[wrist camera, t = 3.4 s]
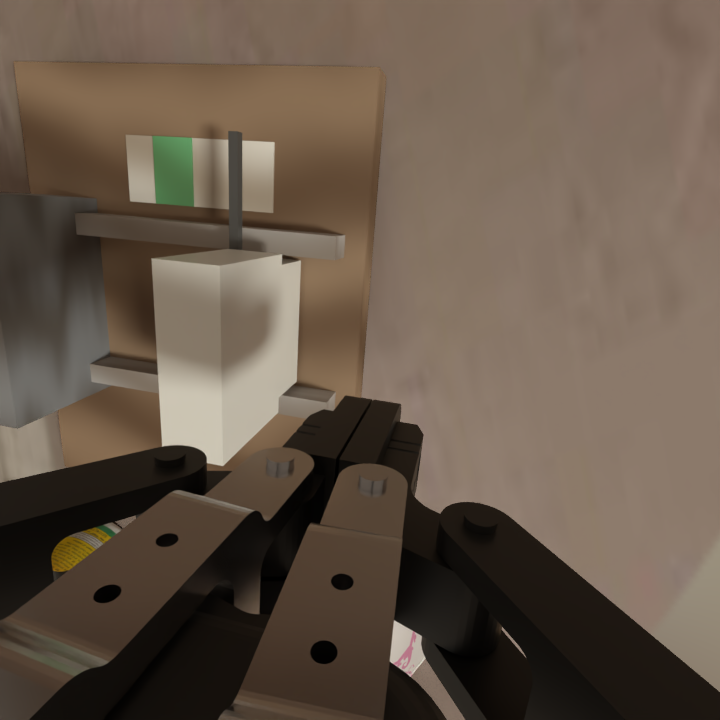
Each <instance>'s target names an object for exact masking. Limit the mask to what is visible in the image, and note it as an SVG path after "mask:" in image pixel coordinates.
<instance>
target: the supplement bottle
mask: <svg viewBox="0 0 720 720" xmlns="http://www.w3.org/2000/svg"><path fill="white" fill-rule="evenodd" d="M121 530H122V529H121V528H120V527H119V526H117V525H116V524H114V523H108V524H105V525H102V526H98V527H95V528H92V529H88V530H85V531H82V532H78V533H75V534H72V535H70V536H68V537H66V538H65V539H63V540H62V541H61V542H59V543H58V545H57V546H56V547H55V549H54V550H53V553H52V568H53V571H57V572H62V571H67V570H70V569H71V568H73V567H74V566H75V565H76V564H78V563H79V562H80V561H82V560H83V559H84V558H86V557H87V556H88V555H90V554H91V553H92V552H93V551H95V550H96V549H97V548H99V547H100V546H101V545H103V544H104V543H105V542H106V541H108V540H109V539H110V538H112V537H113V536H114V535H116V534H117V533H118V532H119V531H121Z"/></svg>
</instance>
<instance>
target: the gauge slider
mask: <svg viewBox="0 0 720 720" xmlns="http://www.w3.org/2000/svg"><path fill="white" fill-rule="evenodd" d="M228 169H229V249H222V250H214V251H207V252H199V253H191V254H183V255H175V256H167V257H159V258H151V259H152V277H153V294H154V312H155V330H156V347H157V365H158V382H159V400H160V417H161V435H162V447H163V446H170V445H184V446H191V447H195V448H197V449H199V450H201V451H203V452H204V453H205V455H206V457H207V463H210V464H215V465H220V466H224V465H225V464H226V463H227V462H228V461H229V460H230V459H231V458H232V457H233V456H234V455H235V454H236V453H237V452H238V451H239V450H240V449H241V448H242V447H243V446H244V445H245V444H246V443H247V442H248V441H249V440H250V439H251V438H253V437H254V436H255V435H256V434H257V433H258V432H259V431H260V430H261V429H262V428H263V427H264V426H265V425H266V424H267V423H268V422H269V421H270V420H271V419H272V418H273V417H274V416H275V415H276V414H277V413H278V406H279V397H280V396H281V395H282V394H283V393H284V392H286V391H287V390H288V389H289V388H290V387H291V386H292V385H293V384H295V383H296V382H297V358H298V330H299V302H300V274H301V260H292V259H282V254H275V253H265V252H255V251H245V250H242V133H241V132H238V131H228Z"/></svg>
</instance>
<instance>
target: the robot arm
mask: <svg viewBox="0 0 720 720" xmlns="http://www.w3.org/2000/svg"><path fill="white" fill-rule="evenodd" d="M400 416H401V404H398V403H391V402H385V401H379V400H372V399H366V398H360V397H354V396H347V395H345V396H344V398H343V399H342V400H341V401H340V403H339V404H338V405H337V407H336V408H335V409H334V411H331V410H325V409H323V410H320V411H318V412H316V413H314V414H311V415H309V417H308V418H307V419H306V420H305V421H304V422H303V423H302V425H301V426H300V427H299V428H298V429H297V430H296V432H295V433H294V434H293V435H292V436H291V437H290V438H289V440H288V441H287V442H286V443H285V444H284V445H283V447H276V448H268V449H263V450H260V451H258V452H256V453H254V454H252V455H251V456H250V457H248V458H247V459H246V460H245V461H244V462H243V463H241V464H240V465H239V466H238V467H237V468H236V469H234V470H233V471H207V457H206V455H205V453H204V452H203V451H201V450H199V449H197V448H195V447H191V446H184V445H170V446H163V447H158V448H153V449H149V450H144V451H140V452H135V453H131V454H127V455H122V456H118V457H113V458H109V459H104V460H100V461H95V462H91V463H87V464H82V465H78V466H73V467H69V468H64V469H60V470H56V471H51V472H47V473H42V474H38V475H33V476H29V477H25V478H20V479H16V480H11V481H7V482H2V483H0V720H447V719H446V718H445V716H444V715H443V713H442V712H441V710H440V709H439V708H438V706H437V705H436V704H435V702H434V701H433V700H432V698H431V697H430V696H429V695H428V694H427V693H426V691H425V690H424V689H423V688H422V687H421V686H420V685H419V684H418V683H417V682H416V681H415V680H414V679H412V678H411V677H410V676H409V675H408V674H407V673H405V672H404V671H403V670H401V669H400V668H398V667H397V666H395V665H394V664H393V663H391V662H390V654H391V644H392V635H393V625H394V621H396V622H398V623H400V624H401V625H403V626H405V627H407V628H409V629H410V630H412V631H414V632H416V633H417V634H419V635H421V636H422V639H421V646H422V651H423V654H424V656H425V658H426V660H427V661H428V663H429V664H430V666H431V667H432V669H433V671H434V672H435V674H436V675H437V677H438V678H439V680H440V681H441V683H442V684H443V686H444V687H445V689H446V690H447V692H448V694H449V695H450V697H451V698H452V700H453V701H454V703H455V704H456V706H457V707H458V709H459V710H460V712H461V713H462V715H463V717H464V718H465V720H720V692H719V691H718V690H717V689H715V688H714V687H713V686H712V685H710V684H709V683H708V682H707V681H706V680H705V679H703V678H702V677H701V676H700V675H698V674H697V673H696V672H695V671H694V670H693V669H691V668H690V667H689V666H688V665H687V664H685V663H684V662H683V661H682V660H681V659H679V658H678V657H677V656H676V655H674V654H673V653H672V652H671V651H670V650H669V649H667V648H666V647H665V646H664V645H663V644H661V643H660V642H659V641H658V640H656V639H655V638H654V637H653V636H652V635H651V634H649V633H648V632H647V631H646V630H645V629H643V628H642V627H641V626H640V625H639V624H637V623H636V622H635V621H634V620H633V619H631V618H630V617H629V616H628V615H627V614H625V613H624V612H623V611H622V610H621V609H619V608H618V607H617V606H616V605H615V604H613V603H612V602H611V601H610V600H609V599H607V598H606V597H605V596H604V595H603V594H601V593H600V592H599V591H598V590H597V589H595V588H594V587H593V586H592V585H591V584H589V583H588V582H587V581H586V580H585V579H583V578H582V577H581V576H580V575H579V574H577V573H576V572H575V571H574V570H573V569H571V568H570V567H569V566H568V565H567V564H565V563H564V562H563V561H562V560H561V559H559V558H558V557H557V556H556V555H555V554H553V553H552V552H551V551H550V550H549V549H547V548H546V547H545V546H544V545H543V544H541V543H540V542H539V541H538V540H537V539H535V538H534V537H533V536H532V535H531V534H529V533H528V532H527V531H526V530H525V529H523V528H522V527H521V526H520V525H519V524H517V523H516V522H515V521H514V520H513V519H511V518H510V517H509V516H508V515H506V514H505V513H503V512H501V511H500V510H498V509H495V508H493V507H490V506H487V505H484V504H480V503H473V502H460V503H455V504H452V505H449V506H447V507H446V508H445V509H443V511H442V512H441V514H439V513H437V512H435V511H433V510H431V509H429V508H427V507H425V506H424V505H423V504H421V503H420V502H419V501H418V500H417V499H416V498H415V497H414V496H415V492H416V487H417V480H418V472H419V465H420V457H421V450H422V442H423V433H422V431H421V430H420V428H419V427H418V425H415V424H409V423H403V422H400ZM135 515H136V519H135V520H134V521H132V522H131V523H130V524H129V525H127V526H126V527H125V528H123V529H122V530H121V531H119V532H118V533H117V534H116V535H114V536H113V537H112V538H110V539H109V540H108V541H106V542H105V543H104V544H103V545H101V546H100V547H99V548H97V549H96V550H95V551H93V552H92V553H91V554H90V555H88V556H87V557H86V558H84V559H83V560H82V561H80V562H79V563H78V564H76V565H75V566H74V567H73V568H71V569H70V570H67V571H62V572H57V571H53V568H52V553H53V550H54V549H55V547H56V546H57V545H58V543H59V542H61V541H62V540H63V539H65V538H66V537H68V536H70V535H72V534H75V533H78V532H82V531H85V530H88V529H92V528H95V527H98V526H102V525H105V524H108V523H112V522H115V521H118V520H122V519H125V518H128V517H131V516H135ZM502 627H503V628H504V629H505V630H506V631H507V632H508V634H509V635H510V636H511V637H512V638H513V639H514V640H515V642H516V643H517V644H518V645H519V646H520V648H521V649H522V651H523V652H524V654H525V656H526V658H527V659H526V658H525V656H524V655H523V654H522V653H521V652H520V651H519V650H518V648H517V647H516V646H515V645H514V644H513V643H512V641H511V640H510V639H509V638H508V637H507V636H506V635H505V633H504V632H503V631H502V630H501V629H502Z"/></svg>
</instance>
